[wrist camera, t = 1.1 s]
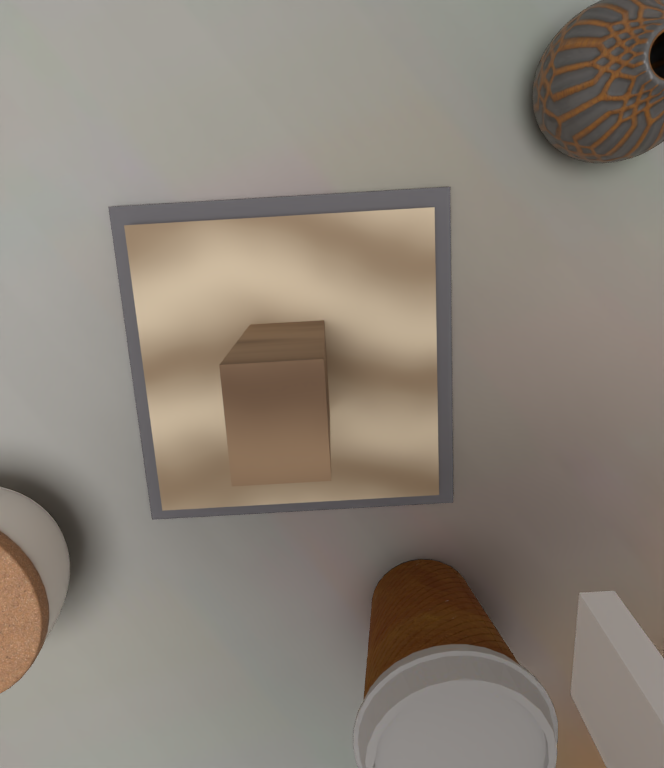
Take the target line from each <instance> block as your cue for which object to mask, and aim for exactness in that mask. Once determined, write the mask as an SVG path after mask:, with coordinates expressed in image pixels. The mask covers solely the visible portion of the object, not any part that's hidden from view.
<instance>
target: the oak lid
mask: <svg viewBox="0 0 664 768" xmlns="http://www.w3.org/2000/svg"><path fill="white" fill-rule="evenodd" d="M124 228H125V236H126V243H127V250H128V258H129V265H130V273H131V280H132V288H133V295H134V303H135V310H136V317H137V325H138V332H139V340H140V347H141V355H142V362H143V370H144V377H145V384H146V392H147V399H148V407H149V414H150V422H151V429H152V437H153V444H154V451H155V459H156V466H157V474H158V481H159V489H160V496H161V504H162V511H164V510H181V509H199V508H217V507H234V506H252V505H270V504H287V503H305V502H323V501H341V500H358V499H376V498H394V497H411V496H429V495H439V455H438V391H437V328H436V264H435V207H429V208H412V209H395V210H378V211H361V212H344V213H327V214H310V215H293V216H276V217H259V218H242V219H225V220H207V221H190V222H173V223H156V224H139V225H124Z"/></svg>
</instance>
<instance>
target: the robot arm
mask: <svg viewBox="0 0 664 768" xmlns="http://www.w3.org/2000/svg"><path fill="white" fill-rule="evenodd" d="M571 696H572V698H573V700H574V703H575V705H576V707H577V709H578V711H579V713H580V715H581V717H582V719H583V721H584V723H585V725H586V727H587V729H588V731H589V733H590V735H591V737H592V739H593V741H594V743H595V745H596V747H597V749H598V751H599V753H600V755H601V757H602V759H603V761H604V763H605V765H606V767H607V768H664V658H663V657H662V656H661V654H660V653H659V651H658V650H657V649H656V647H655V646H654V645H653V643H652V642H651V640H650V639H649V638H648V636H647V635H646V634H645V632H644V631H643V629H642V628H641V627H640V625H639V624H638V623H637V621H636V620H635V618H634V617H633V616H632V614H631V613H630V611H629V610H628V609H627V607H626V606H625V605H624V603H623V602H622V600H621V599H620V598H619V596H618V595H617V594H616V592H615V591H601V592H582V593H579V601H578V613H577V624H576V636H575V648H574V660H573V671H572V683H571Z"/></svg>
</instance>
